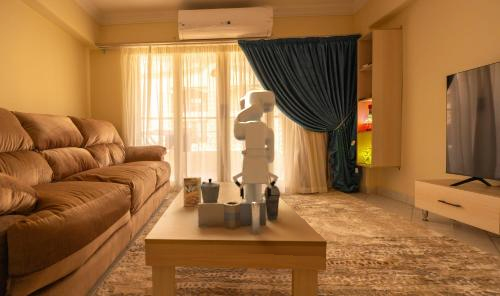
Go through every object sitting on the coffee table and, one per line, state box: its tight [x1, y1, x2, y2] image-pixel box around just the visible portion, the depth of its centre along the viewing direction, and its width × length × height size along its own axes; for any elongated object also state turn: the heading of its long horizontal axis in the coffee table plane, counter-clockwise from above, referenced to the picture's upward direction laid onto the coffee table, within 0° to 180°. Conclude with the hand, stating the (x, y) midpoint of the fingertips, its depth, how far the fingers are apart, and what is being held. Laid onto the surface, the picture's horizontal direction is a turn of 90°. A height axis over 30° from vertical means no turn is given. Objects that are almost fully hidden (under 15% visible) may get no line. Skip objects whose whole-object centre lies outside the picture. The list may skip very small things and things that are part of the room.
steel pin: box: [251, 202, 261, 236], centre depth 104 cm, size 3×3×12 cm
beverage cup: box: [263, 176, 281, 222], centre depth 121 cm, size 7×7×20 cm
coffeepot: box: [201, 178, 221, 203], centre depth 126 cm, size 15×9×18 cm, turn 33°
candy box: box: [182, 176, 202, 207], centre depth 148 cm, size 9×4×15 cm, turn 87°
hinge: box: [197, 200, 267, 230], centre depth 112 cm, size 28×7×10 cm, turn 92°
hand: (255, 198), depth 103 cm, fingers open, 9 cm apart
